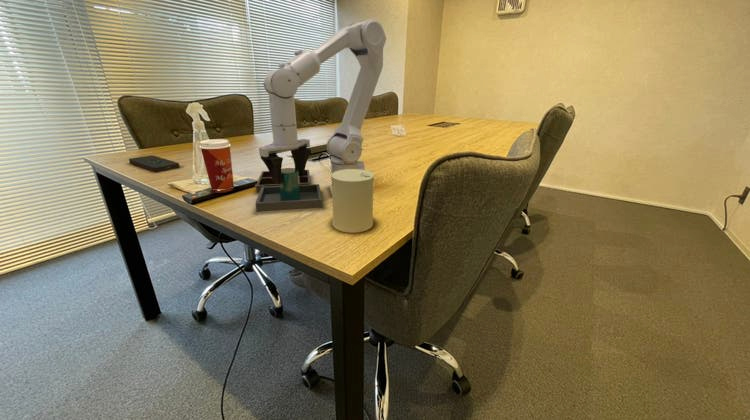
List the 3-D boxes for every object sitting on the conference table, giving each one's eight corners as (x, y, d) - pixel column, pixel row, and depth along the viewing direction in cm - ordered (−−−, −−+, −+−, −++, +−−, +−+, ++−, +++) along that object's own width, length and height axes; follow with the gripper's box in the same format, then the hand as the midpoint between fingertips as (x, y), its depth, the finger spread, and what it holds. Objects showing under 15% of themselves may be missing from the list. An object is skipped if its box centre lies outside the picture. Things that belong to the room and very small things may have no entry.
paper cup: (226, 196, 82) (217, 144, 77) (201, 193, 84) (191, 142, 78) (243, 187, 90) (236, 139, 84) (220, 185, 91) (212, 137, 85)
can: (369, 234, 64) (370, 180, 59) (327, 230, 65) (324, 177, 60) (376, 217, 72) (377, 168, 68) (338, 213, 74) (337, 165, 69)
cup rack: (309, 176, 101) (308, 169, 100) (310, 191, 88) (310, 183, 87) (262, 178, 98) (261, 171, 97) (257, 193, 85) (255, 185, 84)
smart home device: (153, 167, 100) (127, 158, 110) (155, 172, 101) (128, 163, 110) (180, 162, 107) (152, 154, 116) (181, 167, 107) (153, 159, 117)
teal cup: (300, 196, 83) (298, 167, 79) (300, 203, 78) (298, 172, 75) (280, 197, 82) (277, 168, 78) (279, 204, 77) (276, 173, 74)
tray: (319, 192, 87) (319, 184, 86) (322, 209, 76) (322, 199, 75) (262, 195, 84) (261, 186, 83) (256, 213, 73) (255, 203, 72)
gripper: (294, 120, 80) (298, 170, 85) (247, 126, 69) (255, 183, 74) (314, 123, 76) (317, 174, 82) (268, 129, 65) (275, 189, 70)
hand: (289, 179), depth 78 cm, fingers open, 7 cm apart
